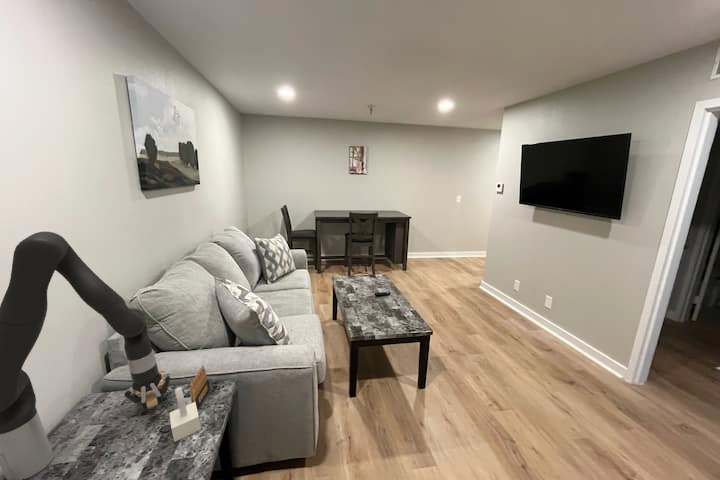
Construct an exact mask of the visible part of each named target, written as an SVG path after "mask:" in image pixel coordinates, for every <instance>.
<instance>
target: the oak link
mask: <svg viewBox="0 0 720 480" xmlns="http://www.w3.org/2000/svg"><path fill="white" fill-rule="evenodd" d="M159 373H160V374H161V375H166V373H165V370H164V369H163V370H160V371H159ZM163 383H164V382H163V380H162V379H161V381H160V382H159V384H158V387H159V389H161V388H162V386H163ZM135 394H136V395H137V396H139V397H141V392H138V391H136V390H135ZM146 404H147V407H148V408H149V409H150V408H153V407H155V406H157V405H158V401H157V396H156V394H155V393H154V391H153V390H151V391H148V392H147V393H146Z"/></svg>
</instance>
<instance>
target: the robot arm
mask: <svg viewBox="0 0 720 480" xmlns="http://www.w3.org/2000/svg"><path fill="white" fill-rule="evenodd" d="M12 255H13V257H12V264H11V271H10V278H9V283H8V287H7V289H6V292H5V294H4V296H3V298H2V301H1V303H0V468H1V470H2V473H3V474H4V476H5V479H6V480H23V479H24V480H27V479H29V478H31V477H33V476H35V475H37V474H39V473H40V472H41V471H42V470H44V469H45V468H46V467H47V466H48V465H50V464H51V462H52V460H53V459H54V455H55V454H54V451H53V448H52V446H51V443H50V440H49V437H48V435H47V433H46V429H45V428H44V425H43V423H42V421H41V417H40V415H39V412H38V410H37V407H36V404H37V396H36V393H35V390H34V388H33V387H34V386H33V384H32V381H31V378H30V376H29V375H28V373H27V372H26V371H24V369H23V366H24V364H25V362H26V360H27V359H28V357H29V355H30V354H31V352H32V350H33V348H34V346H35V344H36V343H37V341H38V339H39V336H40V334H41V332H42V330H43V327H44V323H45V321H46V318H47V314H48V313H47V312H48V290H49V285H50V283H51V281H52V278H53V275H54V274H55V272H57V273H58V274H60V275H61V277H63V278H64V279H65V280H66V281H67V282H68V284H69V285H70V287H72V289H73V290H74V291H75V292H76V294H77V295H78V297H80V299H81V300H82V301H83V303H85V304H86V305H87V306H89V307H90V308H91V309H92V310H94V311H95V312H96V313H97V314H99V315H100V316H102V317H103V318H104V320H105V322H107V324H108V325H110V327H111V328H112V329H113V330H114V331H115V332H116V333H117V334H119V335H120V336H121V337H123V339H124V344H123V345H124V346H123V348H124V352H125V357H126V360H127V366H128V370H129V373H130V377H131V382H132V385H131V386H130V387H129V388H126V389H124V396H125V398H127V399H129V400H130V401H131V402H132V403H134V404H135V405H137V404H139V403H141V405H142V408H143V410H146V411H150V408H148V407H147V404H146V393H147V392H148V391H151V390H153V391H154V393H155V394H156V396H157V401H158V407H159V406H161V404H163V397H162V395H163V394H165V393H166V392H167V391H168V387H169V384H170V381H171V375H170V373H165V375H161V374H160V373H159V372H160V371H159V368H158V364H157V358H156V356H155V353H154V350H153V347H152V344H151V340H150V338H149V337H150V336H149V335H148V327H147V321H146V320H147V319H146V316H145V314H144V312H143V311H142V310H140V309H139V308H138V309H137V308H129V306H127V304H126V301H125V299H124V298H123V297H122V296H121V295H120V294H119V293H117V291H115V290H114V289H113V288H112V287H110V286H109V285H108V284H107V283H106V282H105V281H104V280H102V279H101V278H100V277H99V275H97V274H96V273H95V272H94V271H93V270H92V269H91V268H90V267H89V266H88V265H87V264H86V263H85V262H84V261H83V260H82V258H81V257H80V256H79V255H78V254H77V253H76V251H75V250H74V248H73V247H72V246H71V245H70V243H69V242H68V241H67V240H66V239H65V237H63V236H62V235H60V234H59V233H56V232H52V231H39V232H35V233H33V234H31V235H29V236H27V237H26V238H24V239H22V240H21V241H19V242H18V244H17V245H16V246H15V248H14V251H13V254H12ZM161 379H162V380H163V382H164V383H163V386H162V388H161V389H159V387H158V384H159V382H160V381H161ZM136 391H138V392H141V397H139V396H137V395H136Z"/></svg>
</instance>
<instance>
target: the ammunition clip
mask: <svg viewBox="0 0 720 480" xmlns="http://www.w3.org/2000/svg"><path fill="white" fill-rule="evenodd" d="M189 384H190V385H189V386H190V394H191V398H190V399H191V400H190V401H191V403H193V402H195V403H196V407H197V411H198V410H199V409H200V408H201V406H202V404H203V402H204V401H205V399H206V398H207V396H208V394H209V392H210V391H211V385H210V384H211V383H210V380H209V378H208V375H207V371H206V369H205V367H204V365H201V368H200V367H199V371H197V373H196V374H195V376H194V377H193V378H192V381H190V383H189Z"/></svg>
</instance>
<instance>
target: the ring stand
mask: <svg viewBox="0 0 720 480" xmlns="http://www.w3.org/2000/svg"><path fill="white" fill-rule="evenodd" d="M174 392H175V393H174V394H175V397H176V402H177V405H178V408H177V409H175V410H173V411H171V412H169V420H170V421H169V422H170V426H171V427H170V428H171V432H172V436H173V437H172V438H173V441H174V442H173V443H175V442H177V441H180V440H182V439H183V438H186V437H189V435H192V434H194V433H197V432H199V431H201V430H202V427H201V422H200V417H199V413H198V410H197V407H196V403H195V402H193V403H192V402H191V403H189V404H187V405H186V401H185V397H184V393H183V388H182V387H181V386H178V387H176V388H175V389H174Z"/></svg>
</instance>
